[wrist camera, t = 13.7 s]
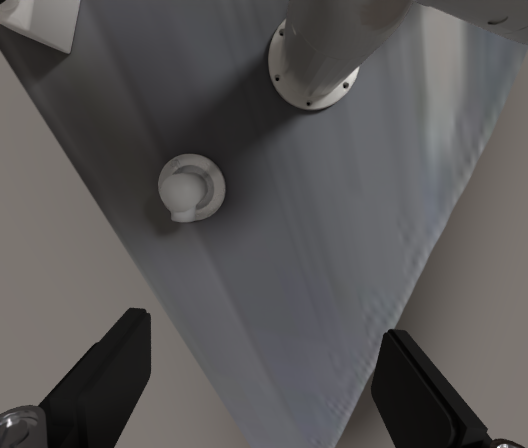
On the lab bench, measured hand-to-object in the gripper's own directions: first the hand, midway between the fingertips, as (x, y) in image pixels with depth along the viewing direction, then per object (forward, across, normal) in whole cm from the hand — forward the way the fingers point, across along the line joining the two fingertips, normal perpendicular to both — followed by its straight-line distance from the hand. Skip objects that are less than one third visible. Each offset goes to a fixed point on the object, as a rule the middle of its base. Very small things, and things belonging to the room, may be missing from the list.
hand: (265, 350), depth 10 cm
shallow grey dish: (+32, +11, -2) cm, 34 cm away
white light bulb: (+31, +11, -2) cm, 33 cm away
